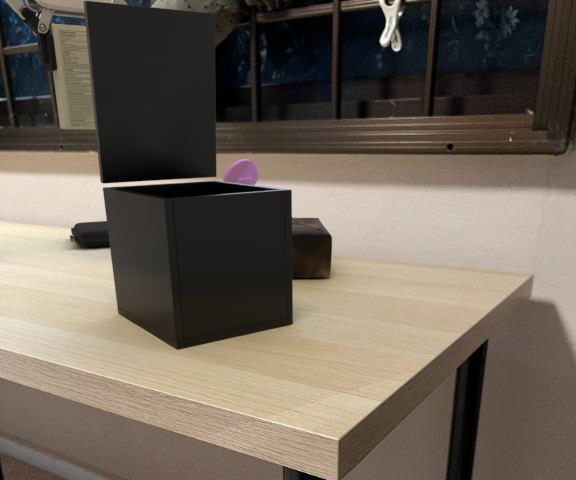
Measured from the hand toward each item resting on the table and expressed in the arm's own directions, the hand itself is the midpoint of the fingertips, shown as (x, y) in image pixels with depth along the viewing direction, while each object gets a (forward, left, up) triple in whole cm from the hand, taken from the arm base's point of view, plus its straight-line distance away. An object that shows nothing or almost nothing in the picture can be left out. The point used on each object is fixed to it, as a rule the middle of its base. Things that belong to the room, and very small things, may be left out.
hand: (78, 71), depth 80 cm
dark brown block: (+25, -14, -27) cm, 40 cm away
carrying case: (+8, +27, -27) cm, 39 cm away
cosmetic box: (0, 0, -7) cm, 7 cm away
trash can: (0, -30, -27) cm, 40 cm away
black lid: (0, -23, -4) cm, 24 cm away
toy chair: (+22, 0, -27) cm, 35 cm away
